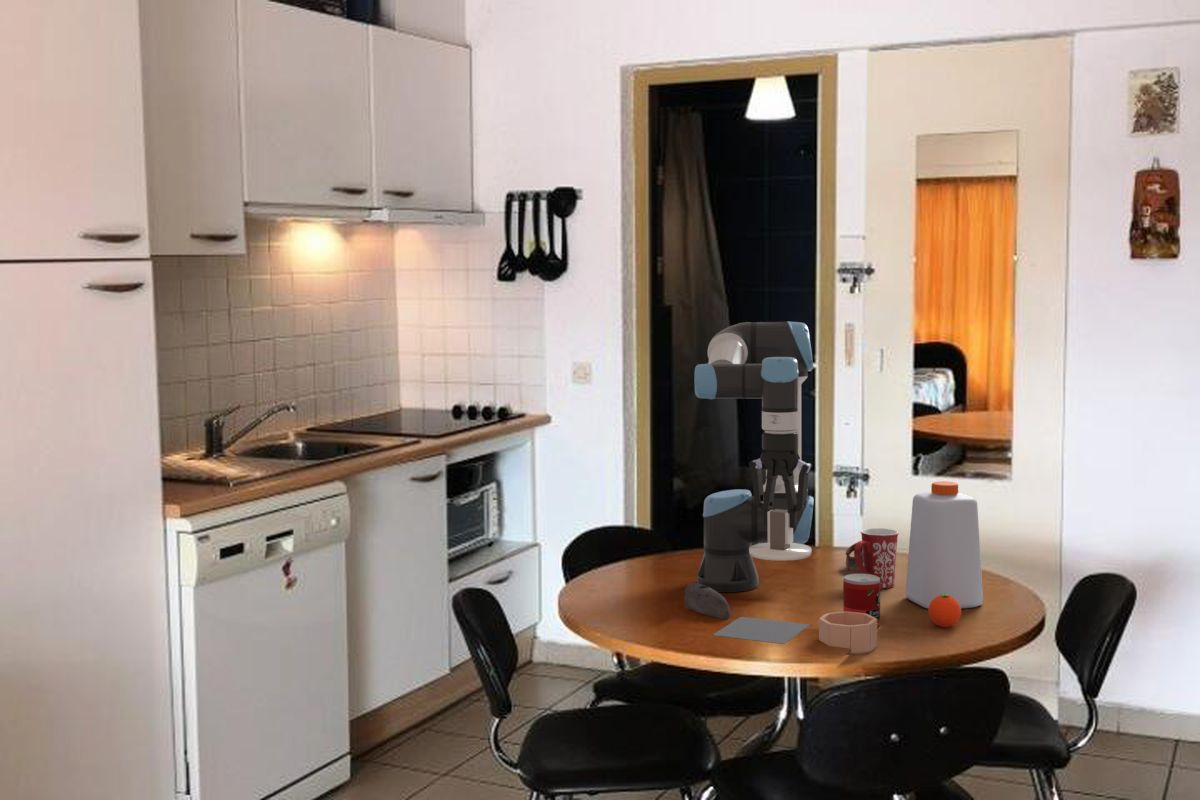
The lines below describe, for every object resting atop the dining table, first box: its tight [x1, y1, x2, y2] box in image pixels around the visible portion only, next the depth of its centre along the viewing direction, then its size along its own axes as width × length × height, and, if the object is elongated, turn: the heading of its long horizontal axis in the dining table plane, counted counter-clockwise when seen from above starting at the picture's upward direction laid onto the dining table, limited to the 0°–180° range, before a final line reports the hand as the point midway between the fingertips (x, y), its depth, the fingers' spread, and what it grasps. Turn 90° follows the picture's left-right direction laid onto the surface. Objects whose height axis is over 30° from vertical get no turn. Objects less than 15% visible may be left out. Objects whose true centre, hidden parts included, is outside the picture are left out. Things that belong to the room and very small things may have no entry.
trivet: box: [712, 616, 810, 645], centre depth 293 cm, size 16×16×2 cm
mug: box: [853, 527, 899, 590], centre depth 334 cm, size 13×9×14 cm
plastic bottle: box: [905, 480, 984, 610], centre depth 317 cm, size 15×15×28 cm
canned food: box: [842, 573, 881, 630], centre depth 299 cm, size 8×8×11 cm
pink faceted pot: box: [818, 611, 878, 656], centre depth 284 cm, size 11×11×6 cm
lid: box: [749, 509, 812, 562], centre depth 288 cm, size 13×13×9 cm
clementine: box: [928, 594, 962, 628], centre depth 299 cm, size 8×7×7 cm
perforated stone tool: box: [683, 582, 731, 620], centre depth 308 cm, size 15×5×7 cm, turn 28°
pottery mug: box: [845, 542, 863, 571], centre depth 354 cm, size 12×10×8 cm
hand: (780, 541), depth 288 cm, fingers closed on lid, 3 cm apart
